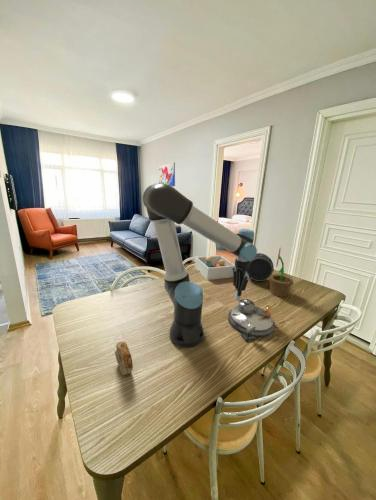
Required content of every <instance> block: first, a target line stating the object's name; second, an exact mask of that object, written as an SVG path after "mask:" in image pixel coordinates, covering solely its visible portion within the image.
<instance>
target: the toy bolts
mask: <svg viewBox="0 0 376 500" xmlns="http://www.w3.org/2000/svg"><path fill="white" fill-rule="evenodd" d="M205 257H206V256H205ZM204 264H205V265H206V266H207V267H209V268H211V266H212V263H211V258H210V257H206V258H205V262H204ZM223 266H226V265H225V261H224V260H219V263H218V264H217V265H216V266H215V267H223Z"/></svg>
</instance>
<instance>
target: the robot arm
mask: <svg viewBox="0 0 376 500" xmlns="http://www.w3.org/2000/svg"><path fill="white" fill-rule="evenodd" d="M142 202H143V203H142V204H143V205H144V207H145V209H146V211H147V216H148V220H149V222H150V223H153V225H154V228H155V234H156V238H157V241H158V245H159V250H160V253H161V258H162V263H163V266H164V267H163V268H164V269H165V271H164V272H165V273H164V274H163V280H164V282H163V283H164V289H165V292H166V293H167V294H168V296H169V298H170V300H171V302H172V304H173V307H174V308H173V309H174V312H173V313H174V314H173V321H172V323H171V325H170V328H169V334H168V335H169V339H170V341H171V342H172V343H173V344H174V345H176V346H178V347H179V348H180V347H181V348H194V347H197V346H199V345H200V344H202V343H203V340H204V337H205V336H204V335H205V331H204V328H203V324H202V312H203V311H202V310H203V301H204V292H203V289H202V286H200V285H199V284H197V283H195V282H192V281H191V280H190V275H189V271H188V269H186V268H184V267H185V266H184V262H183V258H182V252H181V247H180V244H179V243H180V242H179V238H178V233H177V228H176V224H178V225H179V226H180V225H184V226H186V227H188V228H189V229H191V230H193V231H195V233H198V234H200V235H201V236H202V237H204V238H206V239H208V240H209V241H211V242H212V243H214V244H215V247H216V249H217V250H219V251H227V252H229V253H230V254H233V255H234V256H235V260H234V265H235V266H236V268H233V277H232V279H233V280H232V283H233V284H232V285H233V286H234V288H235V290H234V293H235V294H234V299H233V300H235V302H236V301H237V302H239V300H241V297H242V292H243V291H244V292H245V290H246V288H247V286H248V282H249V280H251V279H250V276H248V274H247V273H248V271H247V269H248V268H249V267H250V260H252V259H254V257H255V256H256V254H257V253H258V250H257V246H256V245H255V244H254V241H255V231H254V230H252V229H249V228H240V229H239V231H238V233H235V232H233V231H232V230H230V229H229V228H227V227H226V226H224V225H223V224H221V223H220V222H218V221H216V220H215V219H213V218H212V217H211V216H209V215H208V214H206V213H204V212H203V211H201V210H200V209H199V208H198V207H196V206H194V201H192V200H190V199H189V198H187V197H186V196H185V195H183V193H181V192H180V191H179V190H177V188H175V187H173V186H172V185H169V184H167V183H160V182H159V183H152V184H150V185H149V186H147V187H146V188H145V190H144V192H143V194H142Z"/></svg>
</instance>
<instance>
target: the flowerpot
mask: <svg viewBox="0 0 376 500" xmlns="http://www.w3.org/2000/svg"><path fill="white" fill-rule="evenodd" d="M281 248H282V247H279V250H278V255H277V259H276V260H277V261H276V268H278V264H279V260H280V262H281V268H280V269H279V270H278V272H279V273H280V274H277V273H274V274H273V273H272V275H270V276H269V278H268V281H269V282H270V284H269V292H270V294H271V295H273V296H275V297H279V298H286V297H287V295H288V293H289V291H290V288H291V287H292V286H293V285H294V280H293V278H291V277H289V276H287V275H284V273H285V269H284V267H285V266H284V265H285V263H284V261H283V258H282V257H281V256H280V254H281Z"/></svg>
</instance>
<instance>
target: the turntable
mask: <svg viewBox="0 0 376 500" xmlns="http://www.w3.org/2000/svg"><path fill="white" fill-rule="evenodd" d="M230 311H231V318H232V320H233V321H234V322H235V323H236V324H237V325H238V326H240V327H242V328H244V329H246V327H247V325H248V324H250V323H252V324H254V325H255V330H254V331H255V332H263V331H267V330H269V329H270V328H271V327H272V325H273V321H274V318H273V316H272V312H273V307H272V306H270V305H267V306H266V308H265V309H263V308H261V307H259V306H256V305H255V307H254V313H253V314H251V315H246V314H243V313H241V312H239V311H238V305H236V306H234V307H232V308H231V310H230Z"/></svg>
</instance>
